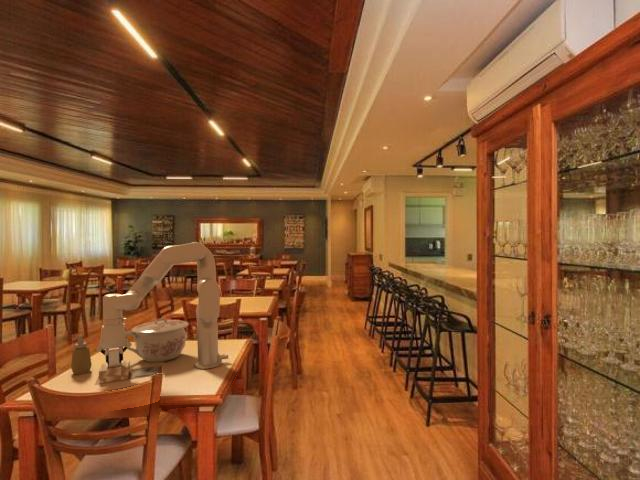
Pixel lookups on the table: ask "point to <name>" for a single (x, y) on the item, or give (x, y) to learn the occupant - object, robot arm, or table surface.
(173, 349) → the chamber pot
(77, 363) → the squeeze bottle
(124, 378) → the socket board
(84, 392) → the table surface
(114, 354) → the steel peg
